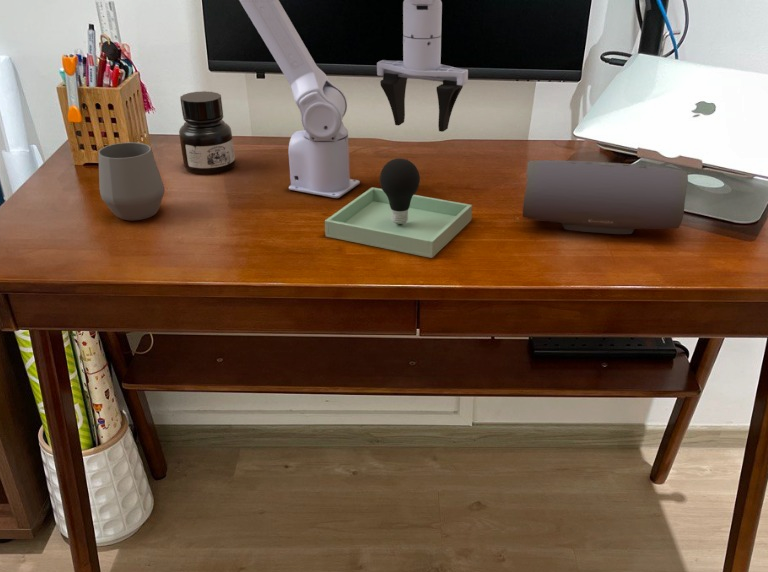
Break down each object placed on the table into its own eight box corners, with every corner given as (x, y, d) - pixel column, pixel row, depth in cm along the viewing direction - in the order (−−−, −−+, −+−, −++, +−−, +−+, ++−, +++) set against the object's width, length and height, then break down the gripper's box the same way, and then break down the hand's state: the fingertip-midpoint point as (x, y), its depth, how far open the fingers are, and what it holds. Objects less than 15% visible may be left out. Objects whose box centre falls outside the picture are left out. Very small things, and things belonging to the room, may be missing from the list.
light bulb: (380, 217, 127) (379, 152, 121) (418, 217, 127) (419, 153, 121) (379, 232, 122) (379, 166, 116) (419, 233, 122) (420, 166, 116)
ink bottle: (190, 178, 141) (179, 106, 134) (175, 163, 148) (164, 93, 141) (244, 169, 145) (237, 99, 138) (228, 155, 152) (220, 87, 145)
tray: (325, 236, 122) (324, 220, 121) (372, 202, 133) (371, 187, 132) (432, 258, 116) (432, 241, 115) (471, 220, 128) (472, 204, 126)
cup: (129, 199, 133) (117, 137, 127) (179, 207, 131) (169, 144, 125) (92, 221, 126) (77, 156, 120) (144, 230, 123) (132, 163, 118)
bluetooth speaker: (672, 222, 128) (685, 158, 122) (677, 247, 120) (691, 180, 114) (524, 211, 131) (530, 148, 125) (520, 234, 123) (526, 168, 117)
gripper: (476, 34, 125) (472, 125, 133) (390, 26, 130) (391, 114, 138) (459, 43, 120) (456, 138, 127) (369, 34, 124) (372, 126, 132)
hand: (421, 126), depth 132 cm, fingers open, 7 cm apart
